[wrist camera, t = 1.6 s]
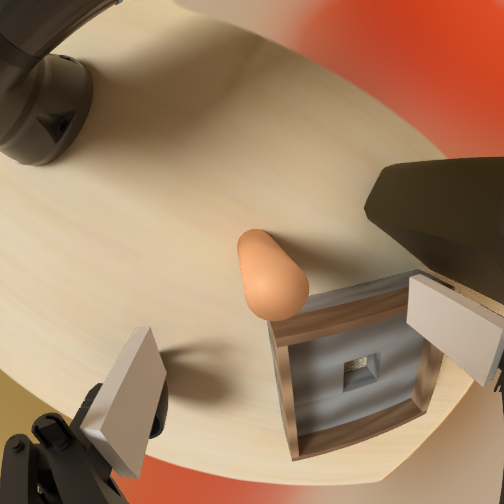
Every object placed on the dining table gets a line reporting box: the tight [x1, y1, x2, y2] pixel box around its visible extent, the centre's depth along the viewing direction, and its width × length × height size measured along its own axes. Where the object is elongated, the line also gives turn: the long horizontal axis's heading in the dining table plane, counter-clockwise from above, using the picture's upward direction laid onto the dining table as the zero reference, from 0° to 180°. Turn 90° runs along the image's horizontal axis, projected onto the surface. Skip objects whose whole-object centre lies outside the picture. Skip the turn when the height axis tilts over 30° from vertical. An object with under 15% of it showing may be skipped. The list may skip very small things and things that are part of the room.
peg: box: [237, 229, 309, 321], centre depth 23 cm, size 4×4×14 cm
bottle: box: [364, 157, 504, 305], centre depth 19 cm, size 8×16×25 cm, turn 60°
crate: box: [267, 269, 455, 461], centre depth 31 cm, size 22×22×8 cm
